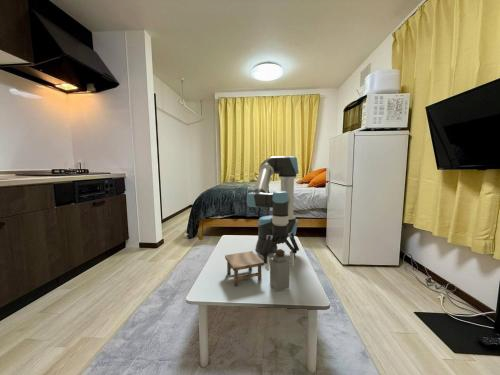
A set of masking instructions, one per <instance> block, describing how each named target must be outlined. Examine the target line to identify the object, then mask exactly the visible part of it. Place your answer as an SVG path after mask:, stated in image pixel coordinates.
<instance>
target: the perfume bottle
mask: <svg viewBox="0 0 500 375" xmlns="http://www.w3.org/2000/svg"><path fill="white" fill-rule="evenodd" d="M285 253H286V252H285V250H283V249H282V248H281V249H280V248H279V249H278V248H277V250H275V252H274V253H271V255H272V257H271V258H270V257H269V276H270V277H269V285H270V286H271V287H272V289H274V290H275V291H276V292H281V291H284V290H288V289H290V266H291V265H290V259H289V260H288V257H289V256H288V255H286V254H285Z"/></svg>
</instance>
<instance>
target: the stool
mask: <svg viewBox="0 0 500 375" xmlns="http://www.w3.org/2000/svg"><path fill="white" fill-rule="evenodd" d="M224 259H225V260H226V264H227V266H226V272H227V273H226V274H227V275H231V272H232V271H233V276H234V282H233V283H234V285H233V286H234V287H238V286H239V281H241V280H243V279H244V280H245V279H248V278H255V277H257V281H258V282H261V281H262V267H263V266H265V263H264V262H263V260H262V259H261V258H260V257H259V256H258V255H257V254H256V253H255V252H254V251H253V250H251V251H243V252H239V253H238V252H237V253H231V254H226V255H225V254H224ZM253 268H257V272H255V273H254V272H253V273H249V274H244V275H243V274H242V275H239V271H241V270H245V269H246V270H248V271H252V270H253Z"/></svg>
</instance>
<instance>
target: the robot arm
mask: <svg viewBox="0 0 500 375" xmlns="http://www.w3.org/2000/svg"><path fill="white" fill-rule="evenodd" d="M298 163H299V162H298V158H297V157H296V156H295V155H294V156H291V155H288V156H287V155H282V156H281V155H280V156H278V155H277V156H276V155H275V156H271V157H268V158H266V159H265V160H264V161H262V163H261V164H260V165H259V168H258V176H257V179H256V183H255V186H254V189H253V192H248V193H247V195H246V205H247V206H248V207H250V208H252V207H253V208H270V209H271V208H272V215H266V216H265V215H264V216H261V217H259V219H258V220H257V221H258V223H257V230H258V231H257V233H258V234H257V235H258V236H257V241H256V244H255V251H256V252H258V253H259V255H260V256H261V257H262V258H263V260H262V261H263V262H264V269H265V270H266V271H267V272H268V271H269V272H270V256H269V255H270V254H275V250H278V245H281V244H285V245H286V246H287V248H289V250H290V251H289V261H290V266H292V267H295V266H294V265H295V259H296V254H297V252H299V251H300V248H299V245H298V244H297V241H296V239H295V237H296V233H297V229H298V223H299V222H298V221H299V220H298V219H297V218H296V216H295V215H294V202H295V201H294V196H295V195H294V194H295V179H296V178H297V175H298V174H299V164H298ZM274 174H276V175H278V178H279V179H280V190H277V191H273V192H270V193H269V192H268V190H269V186H270V182H271V177H272V176H273V175H274ZM288 238H289V239H288ZM289 240H290V241H289ZM290 242H291V243H290Z"/></svg>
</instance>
